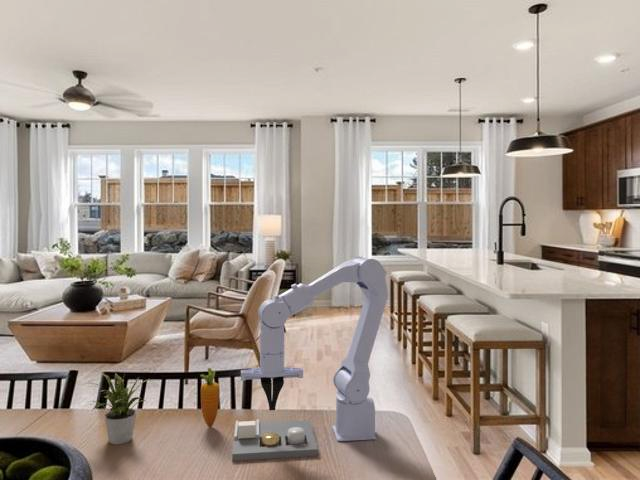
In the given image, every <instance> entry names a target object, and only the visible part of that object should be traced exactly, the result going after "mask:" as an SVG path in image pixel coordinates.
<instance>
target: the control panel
mask: <svg viewBox="0 0 640 480" xmlns="http://www.w3.org/2000/svg"><path fill="white" fill-rule="evenodd" d="M238 422H239V420H235V426H234V435H233V445H232V453H231V454H232V455H231V456H232V457H231V460H232V462H235V461H237V462H238V461H250V460H251V461H253V460H269V459H284V458H287V459H288V458H301V457H318V456H319V448H318V444H317V441H316V437H315V432H314V430H313V426H312V423H311V420H310V419H304V420H303V419H302V420H301V419H300V420H283V421H282V420H281V421H279V420H278V421H261V422H260V419H256V422H255V438H240V439H238ZM293 427H300V428H303V429H304V430H305V444H302V445H287V443H288V430H289V429H290V428H293ZM270 432H272V433H277V434H278V435H279V443H280V445H279V446H273V447H262V446H261V445H262V435H263V434H265V433H270Z"/></svg>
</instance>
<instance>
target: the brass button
mask: <svg viewBox="0 0 640 480" xmlns="http://www.w3.org/2000/svg"><path fill="white" fill-rule="evenodd" d="M273 446H280V442H279V435H278V434H277V433H272V432H270V433H265V434H263V435H262V443H261V447H273Z"/></svg>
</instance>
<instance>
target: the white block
mask: <svg viewBox="0 0 640 480" xmlns="http://www.w3.org/2000/svg"><path fill="white" fill-rule="evenodd" d="M255 423H256V420H245V421H238V439H240V438H255Z"/></svg>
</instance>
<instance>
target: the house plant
mask: <svg viewBox="0 0 640 480" xmlns="http://www.w3.org/2000/svg"><path fill="white" fill-rule="evenodd" d="M125 374H126V373H124V375H123V376H122V377H121V376H120V375H118V374H117V373H116V372H115V373H114V385H113V383H112V380H111V378H110V376H109V375H107V374H105V373H103V372H101V375H102V376H104V377H105V378H106V380H107V383H108V386H109V388H110V390H111V391H110V390H109V389H107V390H106V389H105V388H103V387H102V386H101V388H103V389H101V388H100V386H99V384H97V383H95V385H97V386H94V383H89V382H88V383H86V385H90V384H92V385H93V386H91V385H90V387H94V388H98V389H100V392H103V394H105V396H103V397H104V398H105V399H106V400H108V401H109V402H110V404H107V403H106V402H101V403H100V402H99V401H97V400H89V401H88V403H89V402H93V403H94V402H95V403H97V404H95V405H94V406H93V408H92V410H95V409H97V408H99V407H101V406H102V408H105V409H107V410H108V412H106V413H105V414H104V421H105V428H106V433H107V438H108V442H109V444H111V445H122V444H126V443H128V442H130V441H131V440H132V439H133V434H134V429H135V422H136V416H137V410H135V409H134V407H135V406H136V405H137V404H138V403H140V402H147V400H146V399H143V398H142V397H140V396H139V397H138V396H136V397H133V398H131V397H132V395H134V393H135V392H136V391H137V390H138V388H139V387H140V386H141V385H142V384H143V383H145V382H147V381H149V380H150V378H148V379H145V380H143V381H142V382H140V384H138V386H137V387H136V388H135V389H134V387H135V385H136V384H137V382H138V380H139V379H140V376H138V377H137V378H136V380H135V382H134V383H133V385H132V387H131V389H129V387H126V388H125V384H124V381H123V380H124V377H125ZM98 386H99V387H98ZM139 399H141V400H140V401H139ZM136 400H138V402H136V403H134V402H135V401H136ZM133 403H134V405H133ZM104 405H108V406H109V409H108V407H105V406H104ZM132 405H133V406H132ZM131 406H132V407H131ZM130 407H131V408H130Z"/></svg>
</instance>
